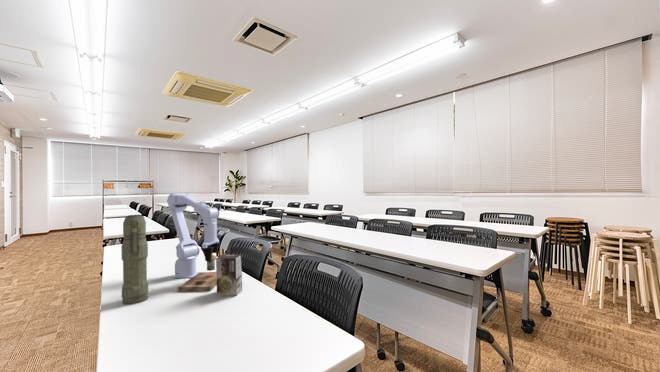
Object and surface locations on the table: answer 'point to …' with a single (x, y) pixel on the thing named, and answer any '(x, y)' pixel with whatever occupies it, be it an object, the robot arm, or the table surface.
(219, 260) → the coffee box
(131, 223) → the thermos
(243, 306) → the table surface
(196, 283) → the board
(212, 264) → the gold rounded piece
